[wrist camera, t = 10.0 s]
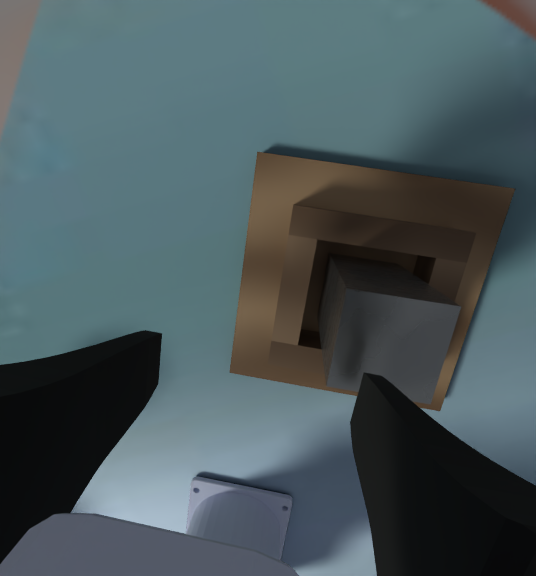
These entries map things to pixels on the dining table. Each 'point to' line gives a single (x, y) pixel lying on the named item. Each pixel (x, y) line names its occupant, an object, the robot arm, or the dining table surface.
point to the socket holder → (353, 254)
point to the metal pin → (383, 326)
